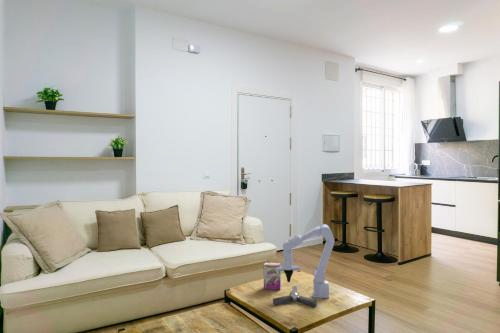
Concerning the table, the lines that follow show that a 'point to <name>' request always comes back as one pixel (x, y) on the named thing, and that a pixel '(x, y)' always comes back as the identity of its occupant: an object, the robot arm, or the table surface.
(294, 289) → the folding foot
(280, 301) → the stool base
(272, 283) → the candy bar box
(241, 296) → the table surface
